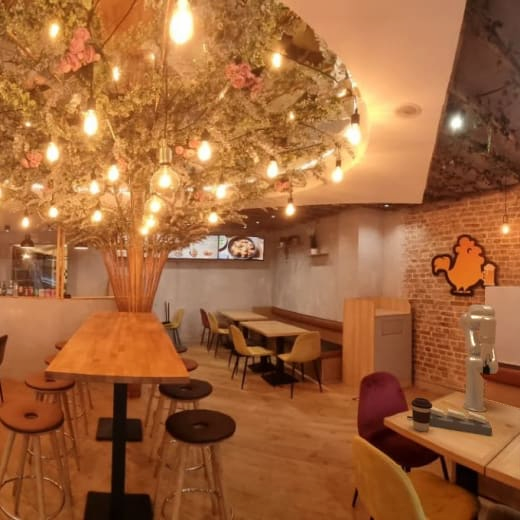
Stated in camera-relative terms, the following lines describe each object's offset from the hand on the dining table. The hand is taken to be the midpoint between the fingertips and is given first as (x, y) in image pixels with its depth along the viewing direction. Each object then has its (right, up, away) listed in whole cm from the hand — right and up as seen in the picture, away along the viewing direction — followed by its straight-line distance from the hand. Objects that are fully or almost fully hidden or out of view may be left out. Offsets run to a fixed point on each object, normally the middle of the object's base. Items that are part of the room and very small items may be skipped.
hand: (486, 374), depth 222 cm
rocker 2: (-9, -20, -8) cm, 24 cm away
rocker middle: (-19, -20, -4) cm, 28 cm away
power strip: (-23, -26, -5) cm, 35 cm away
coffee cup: (-40, -25, -11) cm, 48 cm away
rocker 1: (-28, -20, -1) cm, 34 cm away
